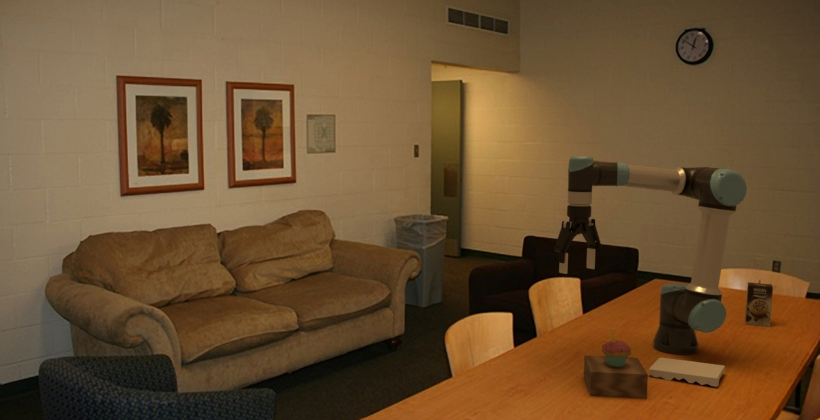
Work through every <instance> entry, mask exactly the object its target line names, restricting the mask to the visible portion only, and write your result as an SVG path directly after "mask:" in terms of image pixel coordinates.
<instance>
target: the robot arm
mask: <svg viewBox="0 0 820 420" xmlns="http://www.w3.org/2000/svg"><path fill="white" fill-rule="evenodd" d="M567 173H568V174H567V176H568V177H567V178H568V179H567V183H568V184H567V204H568V205H567V207H566V216H567V217H568V221H567V220H562V221H561V228H560V230H559V234H558V237H557V238H556V241H555V242H556V243H555V246H554V251H555V252H556V253H558V263H559V268H558V273H560V274H563V275H567V274H568V270H569V269H568V266H569V265H568V264H569V263H568V262H569V253H568V252H567V251H568V249H569V248H570V246H571V243H572V242H573V241H574V238H575V237H577V236H578V235H582V236H583V238H584V240H585V242H586V244H587V246H588V247H587V248H586V269H590V270H595V267H596V266H595V265H596V256H597V255H596V254H597V250H599V249H600V246H601V240H600V236H599V232H598V230H597V226H596V219H595V218H591V217H592V203H593V187H626V188H627V187H628V188H636V189H637V188H638V189H646V190H653V191H654V190H655V191H664V192H671V194H673V195H675V196H683V197H687V198H691V199H694V200H696V201H698V205H697V207H698V208H699V210H700V211H701V217H700V225H699V228H698V230H699V231H698V237H697V241H696V242H697V243H696V250H695V255H694V262H693V268H692V273H691V275H692V276H691V280H690V283H668V284H666V283H665V284H663V285H662V286H661V287H660V295H659V296H660V297H659V298H660V300H659V302H660V303H659V323H658V325H659V326H658V328H657V331H656V333H655V335H654V338H653V341H652V346H653V348H654V349H655V350H657V351H659V352H662V353H667V354H672V355H692V354H697V353H698V352H699V342H698V341H699V340H698V338H697V335H696V332H700V333H706V334H707V333H713V332H716V330H718V329H719V328H721V327H722V325H723V324H724V323H725V321H726V318H727V309H726V307H725V305H724V303H722V297H723V292H722V291H721V289H720V288H719V286H720V280H721V279H720V278H721V274H722V273H721V272H722V267H723V261H724V254H725V250H726V249H725V248H726V241H727V236H728V230H729V225H730V223H729V222H730V217H731V215H733V214H734V213H736V212H737V205H740V204H741V202H743V201H744V199H745V198H746V196H747V192H748V191H747V183H746V180H745V179H744V177H743V176H742V175H741V174H740V173H739V172H738V171H736V170H733V169H730V168H720V167H719V168H718V167H710V166H697V167H684V166H683V167H681V166H678V167H677V166H676V167H674V168H673V169H672V168H662V167H656V166H654V167H653V166H646V165H637V164H635V165H634V164H629V163H628V164H627V163H625V162H619V161H617V162H615V161H614V162H612V161H609V162H608V161H600V160H594V158H593V157H592V156H588V155H573V156H571V157H570V158H569V160H568V167H567Z"/></svg>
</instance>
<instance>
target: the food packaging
mask: <svg viewBox="0 0 820 420" xmlns="http://www.w3.org/2000/svg"><path fill="white" fill-rule="evenodd" d="M725 371H726V366H725V365H723V364H714V363H705V362H699V361H693V360H691V361H690V360H685V359H684V360H683V359H675V358H668V357H659V358H658V359H657V360H656V361H655V362H654V363H653V364H652V365H651V366H650V367H649V369H648V376H652V377H653V378H662V379H663V380H665V381H672V380H673V379H676V380H678V381H680V380H682V379H683V380H685V381H687V383H689V384H694V383H695V382H696V383H697V384H699V385H700V386H703V385H704V386H705V385H709V386H710V387H715V388H716V387H718V386H719V385H720V384H719V383H720V379H721V377H722V376H723V373H725Z"/></svg>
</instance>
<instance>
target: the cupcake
mask: <svg viewBox="0 0 820 420" xmlns="http://www.w3.org/2000/svg"><path fill="white" fill-rule="evenodd" d="M610 331H611V340H609V341H606V342H604V343H603V344H602V345H601V353H602V354H603V355H604V356H606V360H607V364H608V365H610V366H613V367H622V366H624V364H625V361H626V359H627V357H629V356H631V355H632V351H631V350H632V348H631V346H629V344H627V343H626V342H625V341H622V340H615V330H614V328H613V327H611V329H610Z"/></svg>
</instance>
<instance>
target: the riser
mask: <svg viewBox="0 0 820 420" xmlns="http://www.w3.org/2000/svg"><path fill="white" fill-rule="evenodd" d="M583 358H584V362H583V379H584V382H585V384H586V387H587V391H588V393H589V396H595V397H597V396H598V397H616V398H618V397H619V398H638V399H639V398H640V399H641V398H642V399H647V398H648V379H649V373H648V372H647V370H646V369H645V368H644V366H643V364H642V363H641V361H640V359H639V358H638V357H635V356H634V357H632V356H631V357H629V356H628V357H627V359H626V361H625V364H624V366H622V367H613V366H610V365H608V364H607V360H606V356H605V355H584V357H583Z"/></svg>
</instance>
